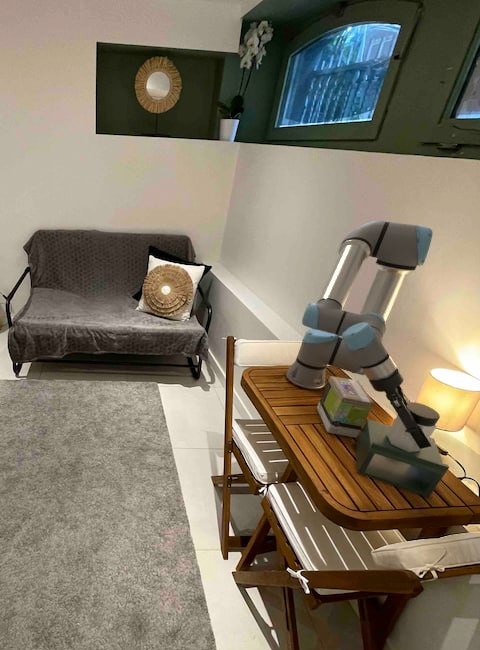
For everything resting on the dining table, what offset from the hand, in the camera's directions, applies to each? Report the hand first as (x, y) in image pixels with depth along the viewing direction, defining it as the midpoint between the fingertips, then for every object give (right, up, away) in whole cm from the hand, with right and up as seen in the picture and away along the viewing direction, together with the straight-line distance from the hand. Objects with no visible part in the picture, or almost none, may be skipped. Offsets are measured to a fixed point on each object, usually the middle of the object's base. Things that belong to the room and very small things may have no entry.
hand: (422, 437), depth 108 cm
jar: (-3, -2, +3) cm, 5 cm away
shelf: (-4, -11, +8) cm, 14 cm away
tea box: (-10, 0, +27) cm, 29 cm away
